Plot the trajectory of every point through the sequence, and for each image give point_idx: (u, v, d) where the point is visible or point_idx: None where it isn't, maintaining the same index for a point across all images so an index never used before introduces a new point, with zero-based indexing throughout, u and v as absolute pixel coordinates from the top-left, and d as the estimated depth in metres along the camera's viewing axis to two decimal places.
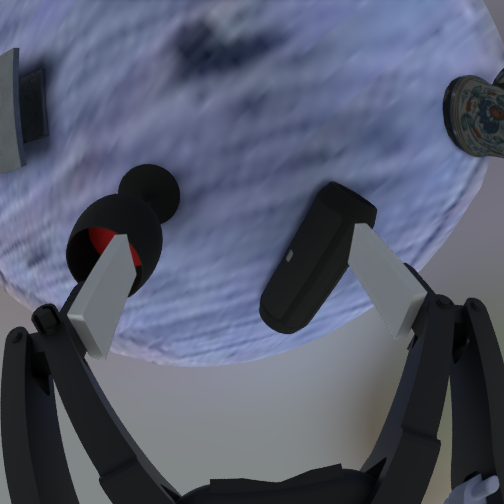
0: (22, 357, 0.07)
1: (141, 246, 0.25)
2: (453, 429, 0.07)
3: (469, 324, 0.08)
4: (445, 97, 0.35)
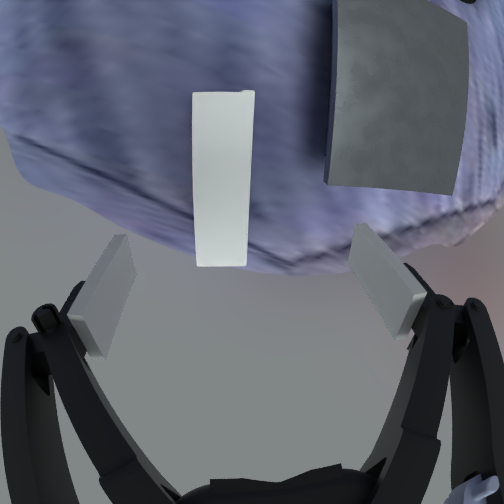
0: (22, 357, 0.07)
1: None
2: (453, 429, 0.07)
3: (469, 324, 0.08)
4: None
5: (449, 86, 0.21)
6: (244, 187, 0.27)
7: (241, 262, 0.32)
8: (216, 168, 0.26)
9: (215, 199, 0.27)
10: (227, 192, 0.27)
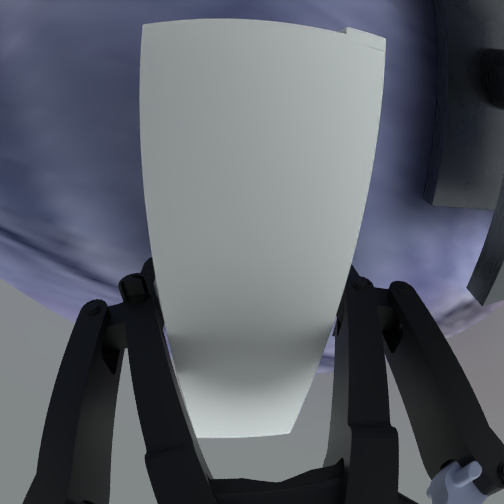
0: (95, 333, 0.08)
1: None
2: (411, 420, 0.07)
3: (399, 311, 0.10)
4: None
5: None
6: (313, 339, 0.09)
7: (281, 431, 0.14)
8: (237, 300, 0.08)
9: (233, 365, 0.10)
10: (267, 352, 0.10)
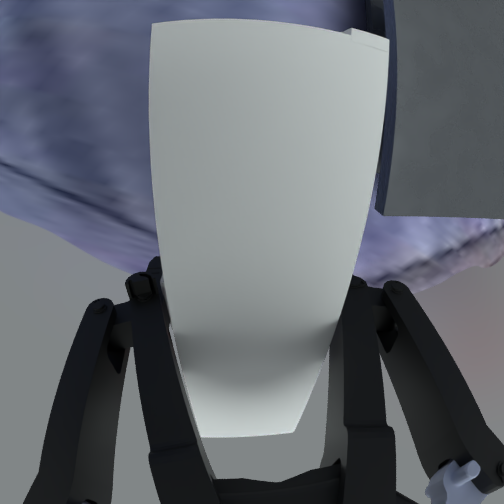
0: (101, 331, 0.08)
1: None
2: (407, 419, 0.08)
3: (393, 311, 0.10)
4: None
5: None
6: (318, 336, 0.10)
7: (285, 430, 0.14)
8: (244, 297, 0.08)
9: (239, 363, 0.10)
10: (273, 349, 0.10)
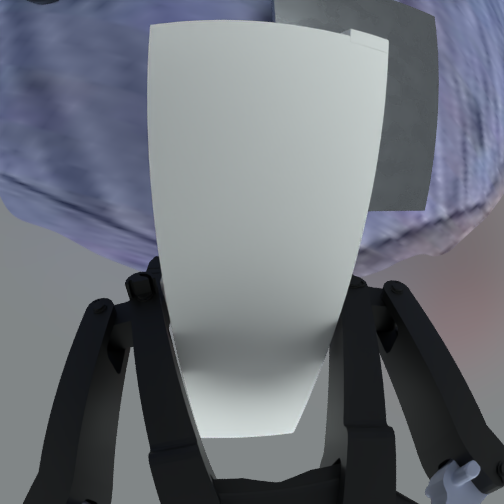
0: (101, 332, 0.08)
1: None
2: (407, 420, 0.07)
3: (393, 311, 0.10)
4: None
5: (414, 92, 0.21)
6: (317, 337, 0.10)
7: (285, 430, 0.14)
8: (243, 298, 0.08)
9: (238, 364, 0.10)
10: (272, 350, 0.10)
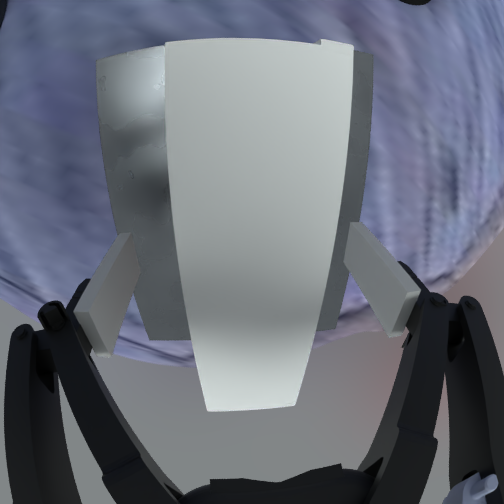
0: (27, 355, 0.07)
1: None
2: (450, 428, 0.07)
3: (464, 322, 0.09)
4: None
5: None
6: (309, 300, 0.11)
7: (286, 403, 0.16)
8: (243, 261, 0.10)
9: (240, 326, 0.12)
10: (270, 312, 0.11)
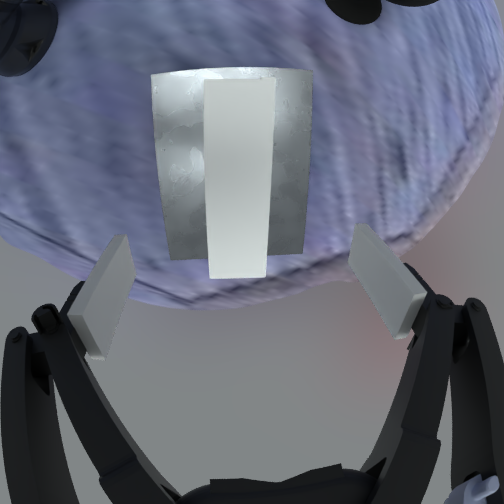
0: (22, 357, 0.07)
1: None
2: (453, 429, 0.07)
3: (469, 324, 0.08)
4: None
5: (281, 155, 0.31)
6: (264, 189, 0.24)
7: (259, 273, 0.28)
8: (232, 166, 0.22)
9: (230, 203, 0.24)
10: (245, 194, 0.24)
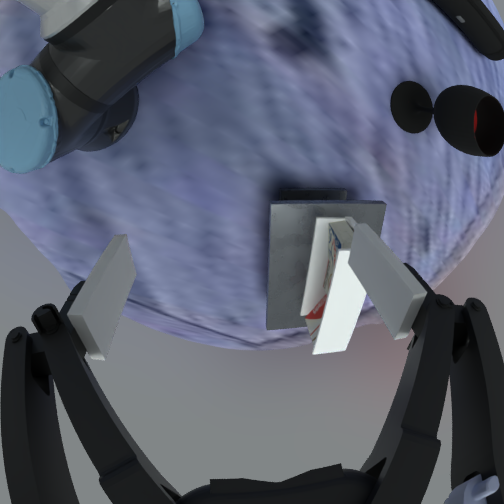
0: (22, 357, 0.07)
1: (483, 92, 0.21)
2: (453, 429, 0.07)
3: (469, 324, 0.08)
4: None
5: None
6: (357, 308, 0.36)
7: (342, 348, 0.41)
8: (343, 299, 0.35)
9: (337, 317, 0.37)
10: (346, 312, 0.36)
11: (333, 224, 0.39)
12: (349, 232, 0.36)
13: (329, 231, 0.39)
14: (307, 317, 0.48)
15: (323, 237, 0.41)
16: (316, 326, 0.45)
